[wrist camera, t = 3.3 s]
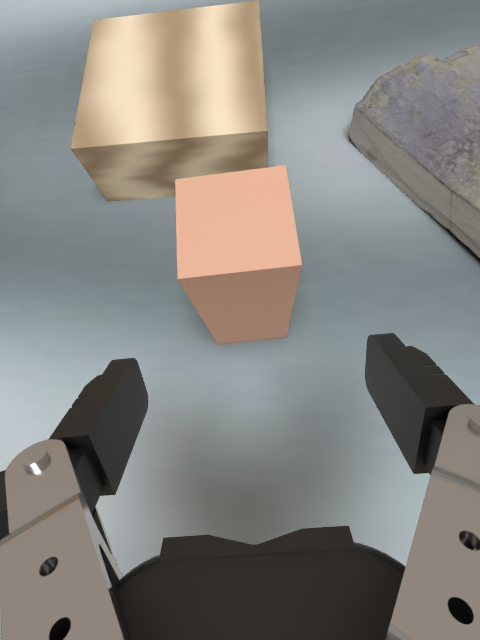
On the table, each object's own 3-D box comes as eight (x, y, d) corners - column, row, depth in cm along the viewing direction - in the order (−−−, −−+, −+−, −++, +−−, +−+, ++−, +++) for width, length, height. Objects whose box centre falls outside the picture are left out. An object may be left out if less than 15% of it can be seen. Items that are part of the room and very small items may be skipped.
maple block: (109, 203, 29) (70, 148, 23) (123, 90, 33) (93, 20, 27) (267, 191, 28) (267, 130, 22) (260, 75, 32) (258, 0, 26)
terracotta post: (217, 344, 23) (177, 278, 13) (213, 282, 25) (175, 179, 15) (286, 337, 23) (301, 265, 13) (278, 274, 25) (285, 165, 14)
